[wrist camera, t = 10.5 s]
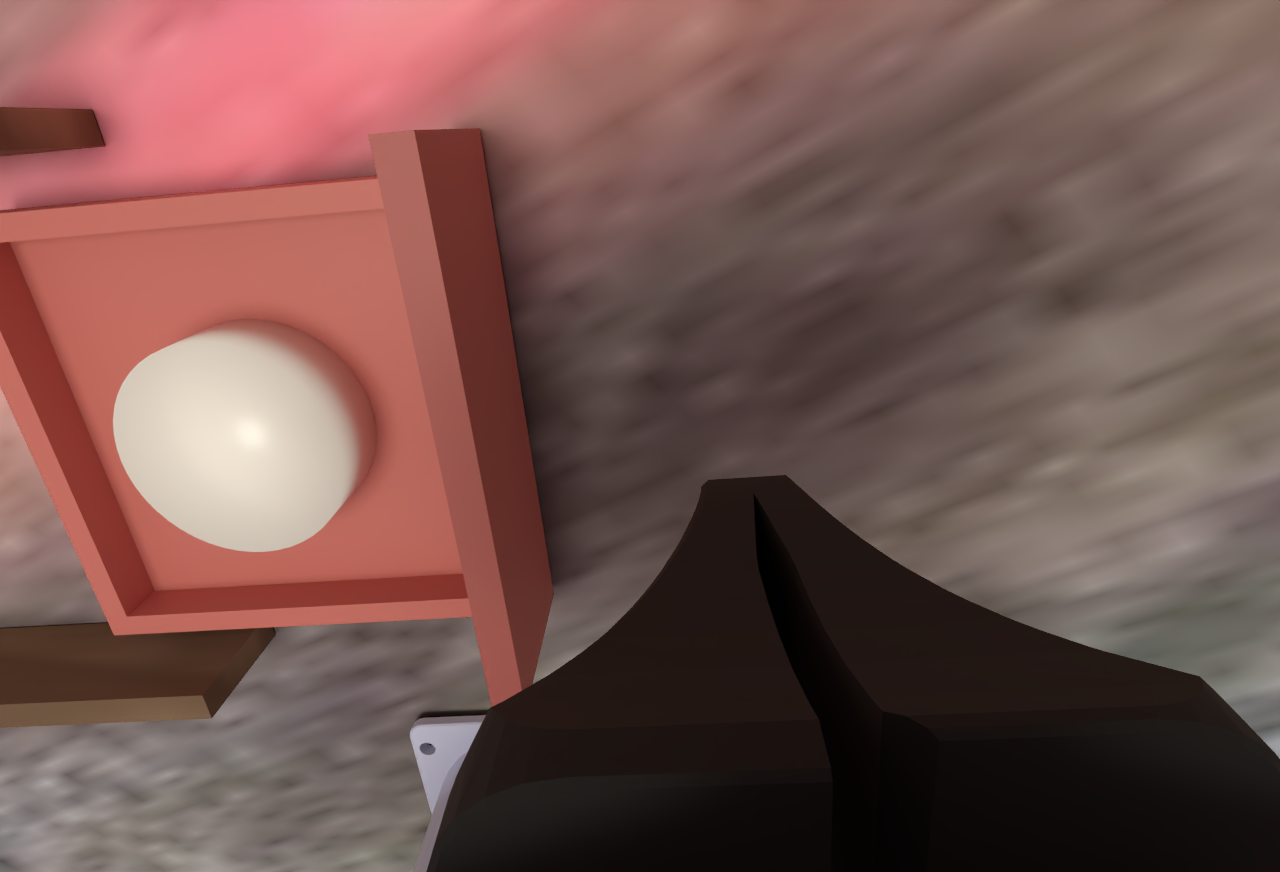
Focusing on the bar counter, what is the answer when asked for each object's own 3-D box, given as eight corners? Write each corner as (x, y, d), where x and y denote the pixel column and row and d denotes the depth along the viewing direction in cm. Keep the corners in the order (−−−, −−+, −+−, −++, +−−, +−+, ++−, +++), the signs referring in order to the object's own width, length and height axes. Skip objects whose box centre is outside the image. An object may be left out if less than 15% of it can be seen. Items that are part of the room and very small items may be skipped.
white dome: (207, 518, 20) (161, 558, 18) (136, 328, 18) (75, 352, 16) (397, 505, 20) (370, 544, 18) (347, 309, 18) (309, 331, 16)
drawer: (553, 593, 22) (525, 710, 17) (168, 614, 22) (50, 731, 18) (479, 128, 17) (413, 130, 12) (-13, 175, 17) (-237, 192, 13)
